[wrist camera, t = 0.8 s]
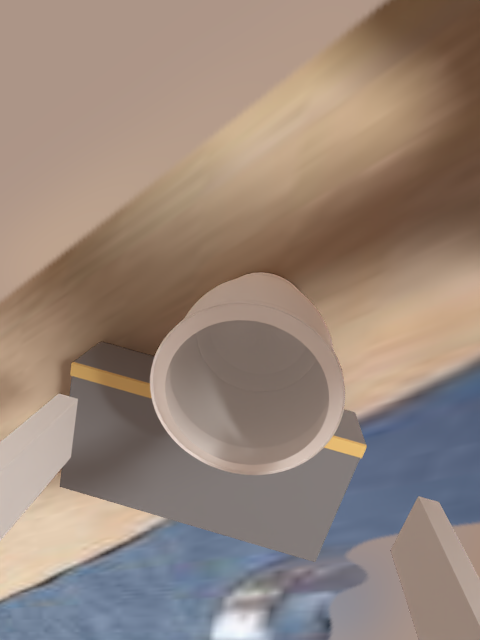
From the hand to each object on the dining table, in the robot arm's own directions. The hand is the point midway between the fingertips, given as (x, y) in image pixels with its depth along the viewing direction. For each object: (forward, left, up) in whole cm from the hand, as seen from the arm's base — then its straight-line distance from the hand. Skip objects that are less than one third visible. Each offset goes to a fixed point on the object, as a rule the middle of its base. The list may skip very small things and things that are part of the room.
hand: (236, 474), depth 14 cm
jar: (0, 0, -21) cm, 21 cm away
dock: (+2, +14, -21) cm, 25 cm away
